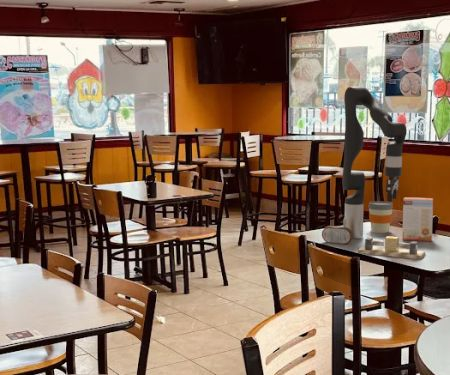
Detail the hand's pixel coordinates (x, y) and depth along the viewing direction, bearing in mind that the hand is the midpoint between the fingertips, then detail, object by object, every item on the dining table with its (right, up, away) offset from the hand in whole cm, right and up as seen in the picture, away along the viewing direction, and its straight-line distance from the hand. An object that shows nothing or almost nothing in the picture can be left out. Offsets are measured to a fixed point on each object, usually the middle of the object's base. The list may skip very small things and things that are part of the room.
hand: (391, 200), depth 324 cm
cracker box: (+18, -20, +21) cm, 34 cm away
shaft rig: (-3, -24, -10) cm, 26 cm away
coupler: (-3, -23, -10) cm, 25 cm away
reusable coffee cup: (+4, -17, +43) cm, 47 cm away
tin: (-24, -22, +12) cm, 34 cm away
